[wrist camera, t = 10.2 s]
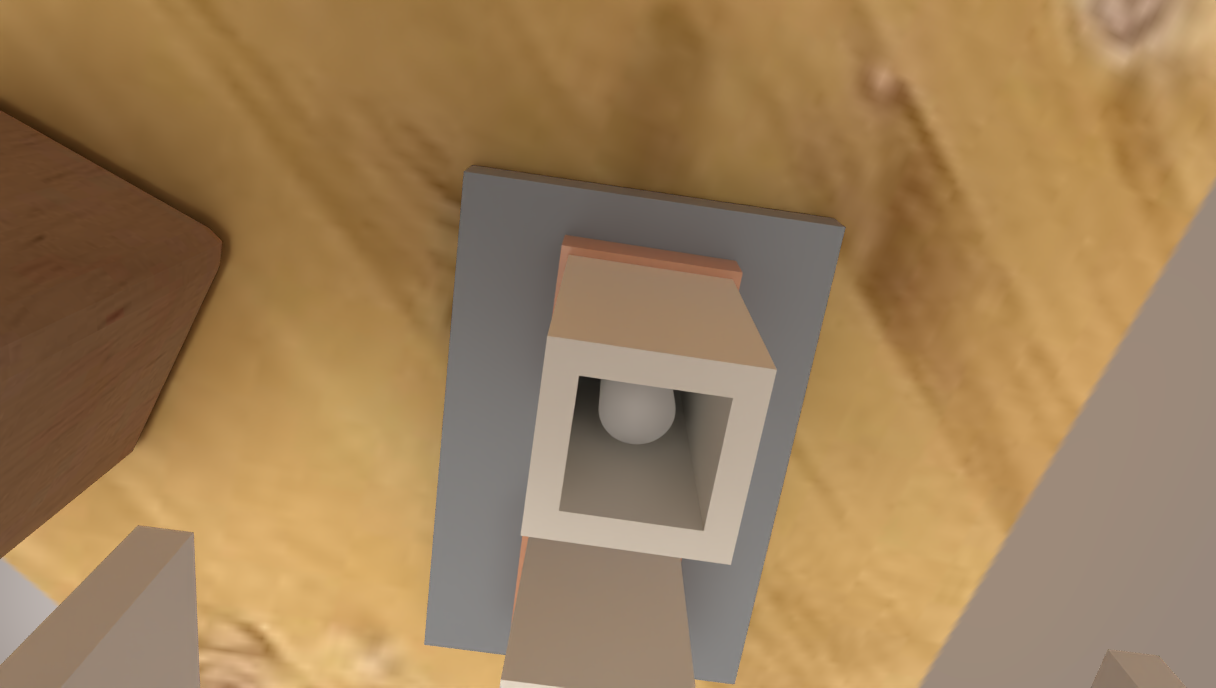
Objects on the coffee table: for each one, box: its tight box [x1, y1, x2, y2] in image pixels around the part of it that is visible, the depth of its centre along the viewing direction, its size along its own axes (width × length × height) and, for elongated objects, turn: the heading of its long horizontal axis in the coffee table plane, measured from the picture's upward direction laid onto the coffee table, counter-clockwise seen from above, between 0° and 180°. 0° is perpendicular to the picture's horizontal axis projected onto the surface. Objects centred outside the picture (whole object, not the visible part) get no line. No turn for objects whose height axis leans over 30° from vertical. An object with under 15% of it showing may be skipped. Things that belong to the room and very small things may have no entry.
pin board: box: [424, 165, 845, 684], centre depth 26 cm, size 18×12×8 cm, turn 172°
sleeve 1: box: [521, 235, 777, 565], centre depth 23 cm, size 6×6×9 cm
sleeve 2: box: [500, 536, 695, 688], centre depth 26 cm, size 6×6×9 cm
